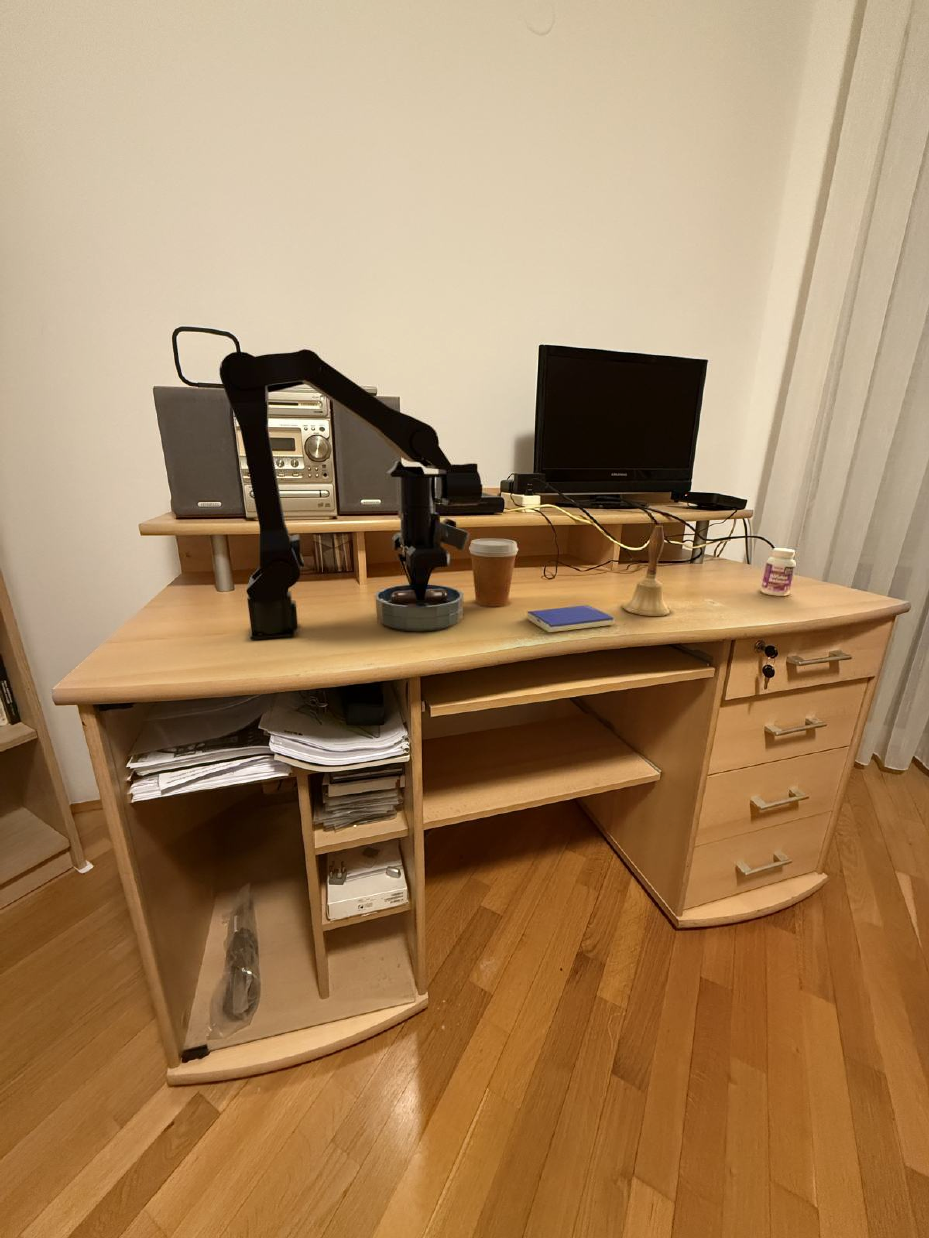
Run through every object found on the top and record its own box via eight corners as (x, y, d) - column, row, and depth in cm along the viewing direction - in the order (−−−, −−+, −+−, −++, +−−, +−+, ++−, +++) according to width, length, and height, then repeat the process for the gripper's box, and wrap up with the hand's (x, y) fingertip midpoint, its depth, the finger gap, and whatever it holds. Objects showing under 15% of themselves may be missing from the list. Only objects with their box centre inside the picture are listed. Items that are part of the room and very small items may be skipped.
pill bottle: (766, 595, 105) (775, 551, 102) (756, 589, 110) (765, 546, 107) (793, 597, 104) (804, 552, 101) (782, 590, 109) (792, 548, 106)
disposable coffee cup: (513, 610, 92) (516, 547, 88) (463, 607, 93) (464, 544, 90) (518, 597, 100) (521, 539, 97) (472, 594, 102) (473, 537, 98)
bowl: (382, 637, 77) (381, 610, 76) (371, 609, 91) (370, 586, 89) (474, 629, 81) (474, 603, 80) (450, 604, 95) (450, 581, 94)
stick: (391, 607, 83) (391, 593, 82) (389, 603, 85) (389, 590, 84) (448, 603, 85) (448, 590, 85) (445, 599, 88) (445, 586, 87)
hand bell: (665, 605, 96) (678, 524, 91) (672, 618, 89) (685, 529, 84) (622, 602, 98) (631, 522, 93) (624, 614, 91) (635, 527, 86)
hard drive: (586, 604, 91) (527, 610, 87) (613, 616, 84) (550, 624, 80) (585, 612, 91) (526, 618, 87) (612, 625, 84) (549, 633, 80)
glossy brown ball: (426, 611, 88) (425, 595, 87) (422, 607, 90) (422, 591, 89) (442, 610, 88) (442, 594, 87) (438, 605, 91) (438, 590, 90)
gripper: (482, 511, 74) (480, 610, 79) (450, 501, 91) (449, 582, 96) (409, 512, 71) (411, 615, 75) (390, 501, 88) (392, 586, 92)
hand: (418, 598), depth 85 cm, fingers closed on stick, 2 cm apart
